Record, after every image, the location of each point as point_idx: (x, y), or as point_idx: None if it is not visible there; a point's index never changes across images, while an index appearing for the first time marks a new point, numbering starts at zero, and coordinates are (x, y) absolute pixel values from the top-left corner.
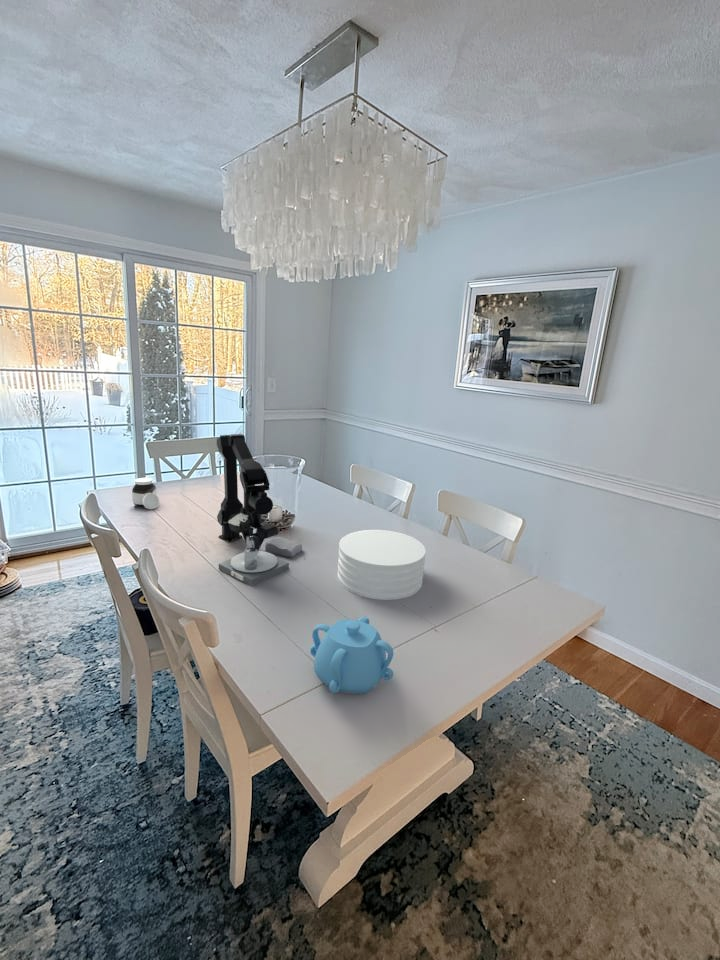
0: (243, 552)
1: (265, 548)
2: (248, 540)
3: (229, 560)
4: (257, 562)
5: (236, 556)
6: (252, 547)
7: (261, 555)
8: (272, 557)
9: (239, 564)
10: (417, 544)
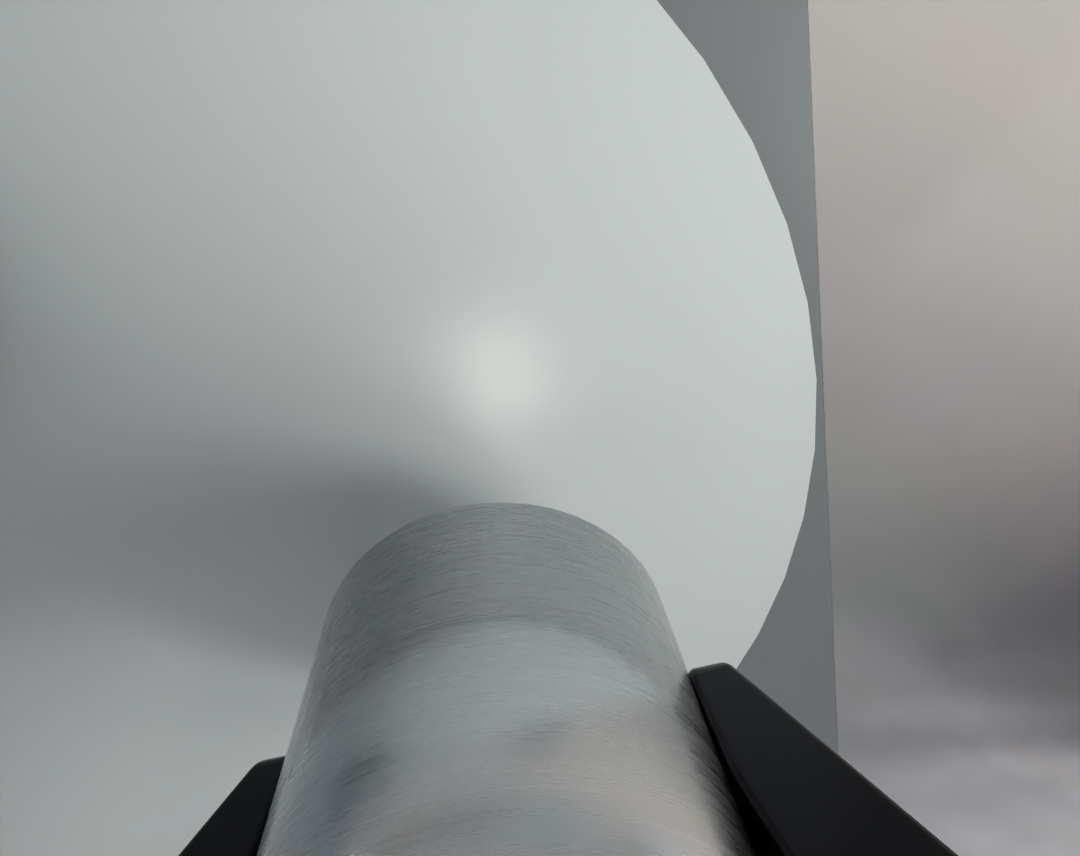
0: (803, 494)
1: None
2: None
3: (752, 7)
4: (62, 525)
5: (717, 232)
6: (282, 793)
7: None
8: None
9: (129, 22)
10: None
